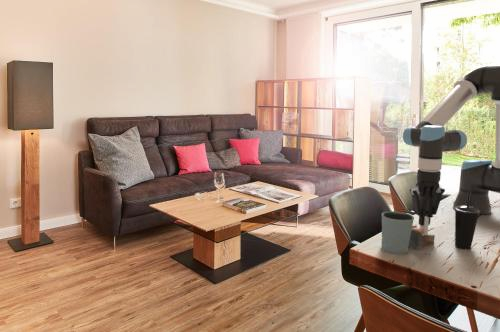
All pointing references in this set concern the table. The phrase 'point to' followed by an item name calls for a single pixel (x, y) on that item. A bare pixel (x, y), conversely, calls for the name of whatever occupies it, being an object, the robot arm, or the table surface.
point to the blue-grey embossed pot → (396, 231)
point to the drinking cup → (465, 225)
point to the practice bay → (420, 239)
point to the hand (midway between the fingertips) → (423, 233)
